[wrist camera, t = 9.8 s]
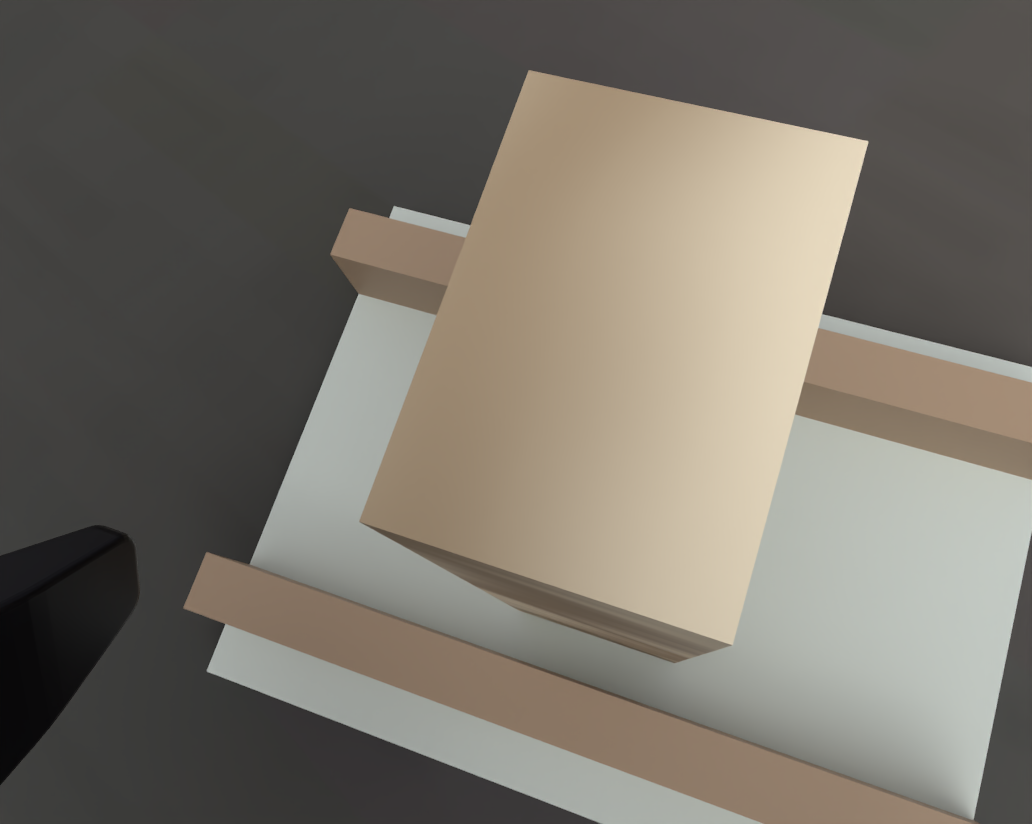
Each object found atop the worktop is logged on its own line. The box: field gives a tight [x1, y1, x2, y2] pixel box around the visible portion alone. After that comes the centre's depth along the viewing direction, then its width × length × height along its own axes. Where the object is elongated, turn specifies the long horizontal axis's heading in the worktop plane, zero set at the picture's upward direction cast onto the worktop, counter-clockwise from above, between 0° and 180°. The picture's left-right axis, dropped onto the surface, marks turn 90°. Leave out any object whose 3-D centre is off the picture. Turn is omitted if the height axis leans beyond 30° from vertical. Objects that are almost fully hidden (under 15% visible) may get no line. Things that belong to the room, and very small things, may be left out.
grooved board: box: [184, 206, 1032, 824], centre depth 19 cm, size 16×12×3 cm
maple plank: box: [359, 70, 868, 663], centre depth 14 cm, size 4×5×12 cm
